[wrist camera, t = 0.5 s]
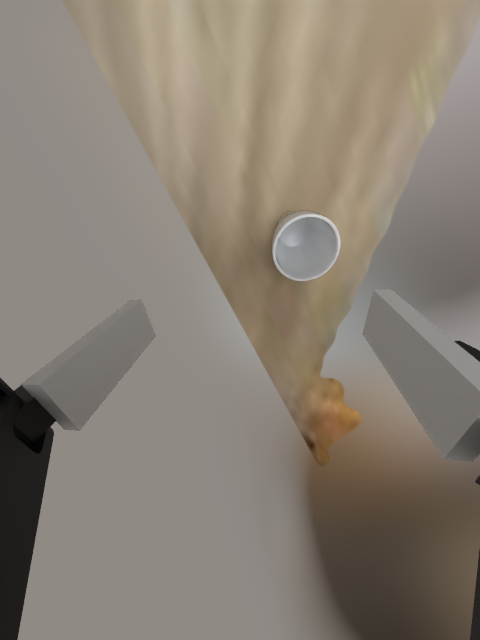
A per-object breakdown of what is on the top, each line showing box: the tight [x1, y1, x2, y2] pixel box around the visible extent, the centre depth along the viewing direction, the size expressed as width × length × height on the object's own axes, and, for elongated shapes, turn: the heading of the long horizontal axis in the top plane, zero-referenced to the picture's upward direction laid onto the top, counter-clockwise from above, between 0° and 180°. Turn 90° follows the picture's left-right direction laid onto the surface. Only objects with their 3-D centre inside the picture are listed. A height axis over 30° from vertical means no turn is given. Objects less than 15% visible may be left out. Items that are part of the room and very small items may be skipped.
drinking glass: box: [272, 210, 340, 281], centre depth 27 cm, size 7×7×15 cm
